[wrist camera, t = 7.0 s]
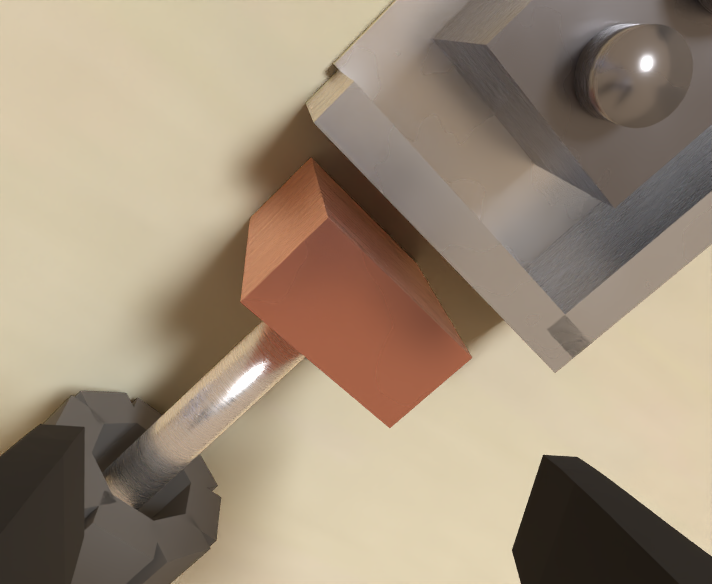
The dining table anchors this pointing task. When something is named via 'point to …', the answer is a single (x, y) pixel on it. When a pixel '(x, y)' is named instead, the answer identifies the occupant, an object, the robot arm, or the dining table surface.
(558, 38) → the block
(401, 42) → the chassis
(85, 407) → the grey octagonal nut
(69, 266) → the dining table surface
